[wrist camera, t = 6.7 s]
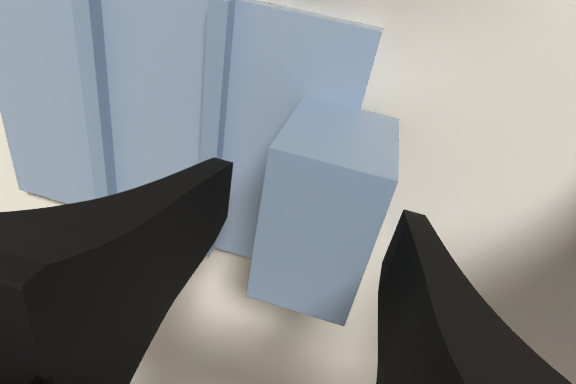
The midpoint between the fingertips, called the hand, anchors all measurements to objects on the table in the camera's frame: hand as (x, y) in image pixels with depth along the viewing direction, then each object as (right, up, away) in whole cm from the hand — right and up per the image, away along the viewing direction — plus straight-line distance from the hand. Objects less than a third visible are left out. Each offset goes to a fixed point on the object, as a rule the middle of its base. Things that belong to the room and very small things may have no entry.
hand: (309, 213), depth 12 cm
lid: (-5, +3, +3) cm, 7 cm away
